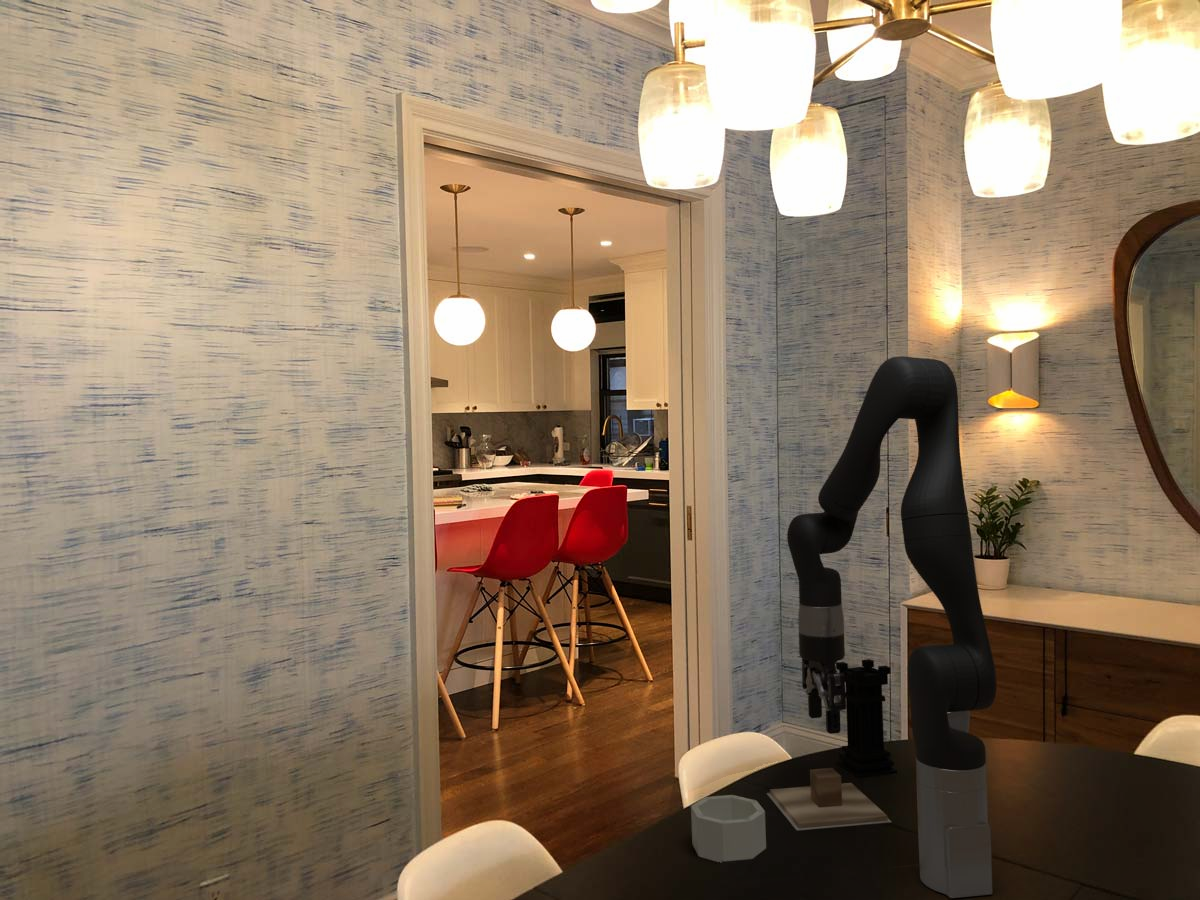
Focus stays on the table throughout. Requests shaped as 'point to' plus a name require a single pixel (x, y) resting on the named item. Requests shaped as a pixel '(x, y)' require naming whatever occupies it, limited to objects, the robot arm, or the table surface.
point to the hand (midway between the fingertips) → (824, 724)
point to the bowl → (728, 828)
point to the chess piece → (865, 721)
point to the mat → (818, 827)
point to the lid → (827, 802)
